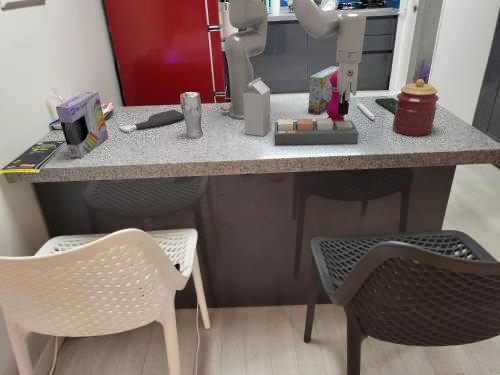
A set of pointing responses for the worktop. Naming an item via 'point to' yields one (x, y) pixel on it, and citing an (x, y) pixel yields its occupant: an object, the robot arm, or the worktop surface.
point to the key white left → (285, 124)
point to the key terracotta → (304, 124)
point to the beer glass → (192, 113)
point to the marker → (366, 111)
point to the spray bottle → (156, 121)
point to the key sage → (343, 125)
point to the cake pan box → (82, 123)
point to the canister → (415, 109)
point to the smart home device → (388, 104)
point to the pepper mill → (334, 100)
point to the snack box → (320, 91)
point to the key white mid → (324, 124)
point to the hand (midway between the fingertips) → (342, 113)
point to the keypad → (315, 136)
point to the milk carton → (257, 108)
